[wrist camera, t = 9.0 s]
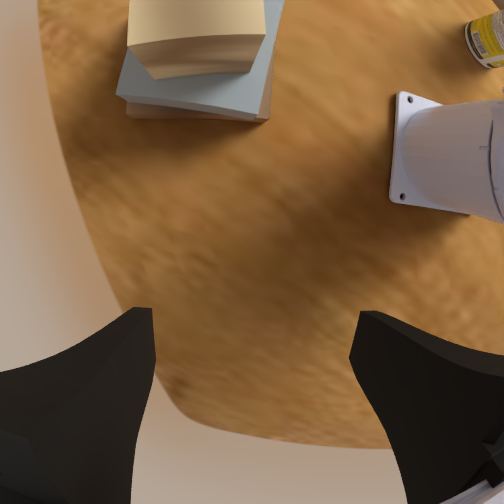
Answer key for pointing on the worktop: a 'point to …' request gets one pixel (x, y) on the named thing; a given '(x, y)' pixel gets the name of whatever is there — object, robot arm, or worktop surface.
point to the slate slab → (206, 81)
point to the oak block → (195, 36)
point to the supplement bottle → (487, 39)
